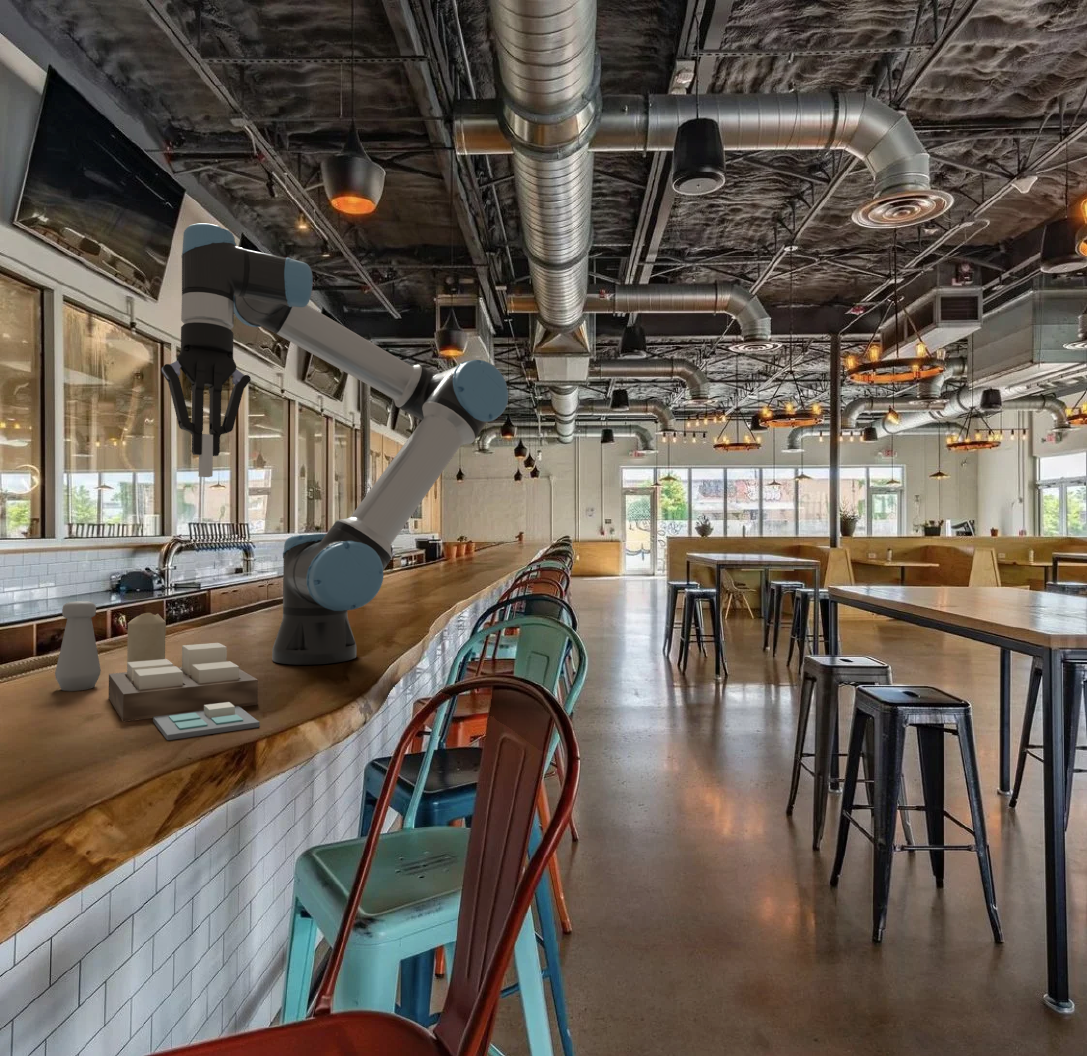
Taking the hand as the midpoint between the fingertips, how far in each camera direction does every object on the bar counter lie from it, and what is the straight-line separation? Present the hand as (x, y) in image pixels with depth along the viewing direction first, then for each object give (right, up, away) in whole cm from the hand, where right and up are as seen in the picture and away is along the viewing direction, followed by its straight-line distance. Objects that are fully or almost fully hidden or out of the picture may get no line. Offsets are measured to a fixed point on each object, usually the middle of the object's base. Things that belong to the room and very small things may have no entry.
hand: (205, 476), depth 113 cm
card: (+12, -32, -25) cm, 42 cm away
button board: (+3, -32, -13) cm, 35 cm away
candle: (-13, -33, +6) cm, 36 cm away
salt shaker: (-17, -32, -5) cm, 37 cm away
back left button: (+4, -29, -8) cm, 30 cm away
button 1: (-2, -31, -12) cm, 33 cm away
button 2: (+2, -31, -18) cm, 36 cm away
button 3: (+8, -31, -14) cm, 35 cm away
